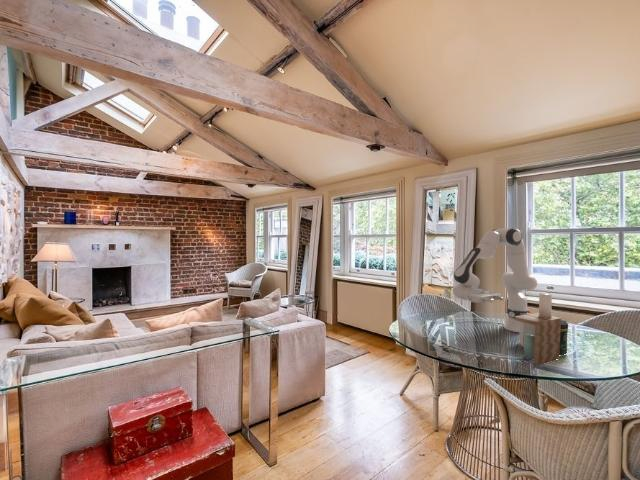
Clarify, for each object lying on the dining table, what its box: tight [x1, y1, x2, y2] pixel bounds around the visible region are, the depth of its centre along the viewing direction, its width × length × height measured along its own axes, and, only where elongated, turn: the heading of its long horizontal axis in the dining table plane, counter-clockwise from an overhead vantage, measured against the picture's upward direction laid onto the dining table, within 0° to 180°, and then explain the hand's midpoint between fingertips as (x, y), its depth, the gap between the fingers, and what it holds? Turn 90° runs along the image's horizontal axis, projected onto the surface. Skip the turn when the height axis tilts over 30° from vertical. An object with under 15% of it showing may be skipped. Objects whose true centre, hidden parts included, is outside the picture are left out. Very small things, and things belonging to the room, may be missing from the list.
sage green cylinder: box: [523, 334, 535, 360], centre depth 169 cm, size 5×5×12 cm
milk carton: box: [518, 313, 535, 348], centre depth 186 cm, size 7×7×19 cm
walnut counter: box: [514, 312, 562, 366], centre depth 167 cm, size 20×12×22 cm, turn 117°
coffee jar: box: [559, 319, 569, 356], centre depth 175 cm, size 10×8×19 cm
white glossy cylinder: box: [538, 292, 553, 318], centre depth 168 cm, size 5×5×12 cm
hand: (497, 299), depth 185 cm, fingers open, 8 cm apart
